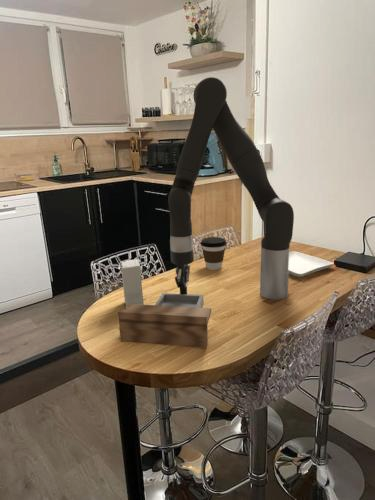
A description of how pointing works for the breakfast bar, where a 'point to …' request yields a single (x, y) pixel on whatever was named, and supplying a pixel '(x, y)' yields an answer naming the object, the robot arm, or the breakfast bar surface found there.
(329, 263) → the salad plate
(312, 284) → the breakfast bar surface
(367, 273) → the breakfast bar surface
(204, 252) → the coffee cup
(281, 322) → the breakfast bar surface
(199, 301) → the slate tray
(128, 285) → the skincare box
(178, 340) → the walnut cantilever shelf
